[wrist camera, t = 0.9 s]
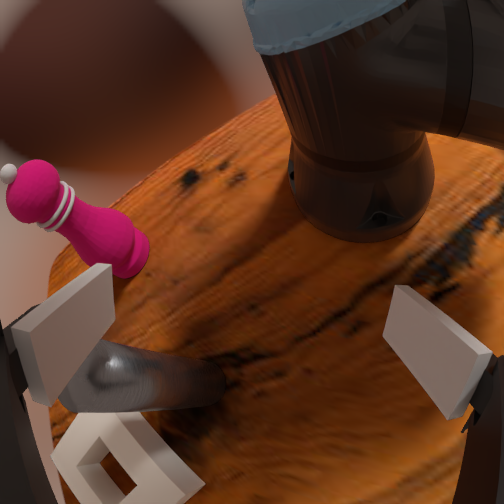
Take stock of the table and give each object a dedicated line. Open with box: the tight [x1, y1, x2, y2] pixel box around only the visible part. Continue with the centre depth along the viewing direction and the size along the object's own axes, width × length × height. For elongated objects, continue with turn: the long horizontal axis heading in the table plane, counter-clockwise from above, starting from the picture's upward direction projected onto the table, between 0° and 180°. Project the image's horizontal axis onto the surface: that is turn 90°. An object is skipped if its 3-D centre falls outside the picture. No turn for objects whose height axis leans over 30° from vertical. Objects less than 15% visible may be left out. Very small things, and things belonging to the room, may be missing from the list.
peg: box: [58, 339, 226, 413], centre depth 21 cm, size 4×4×16 cm
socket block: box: [50, 412, 205, 504], centre depth 25 cm, size 14×14×4 cm
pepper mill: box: [0, 160, 149, 278], centre depth 28 cm, size 7×7×20 cm
